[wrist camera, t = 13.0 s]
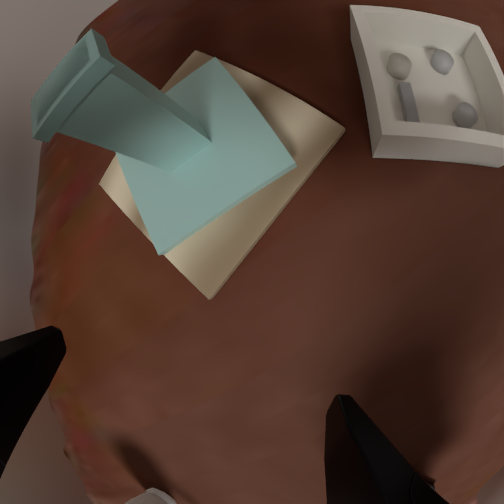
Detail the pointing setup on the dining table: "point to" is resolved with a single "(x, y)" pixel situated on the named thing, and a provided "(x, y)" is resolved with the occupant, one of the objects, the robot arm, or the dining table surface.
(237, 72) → the board
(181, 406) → the dining table surface
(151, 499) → the cup
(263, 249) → the dining table surface
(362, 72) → the tub
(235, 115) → the lid
